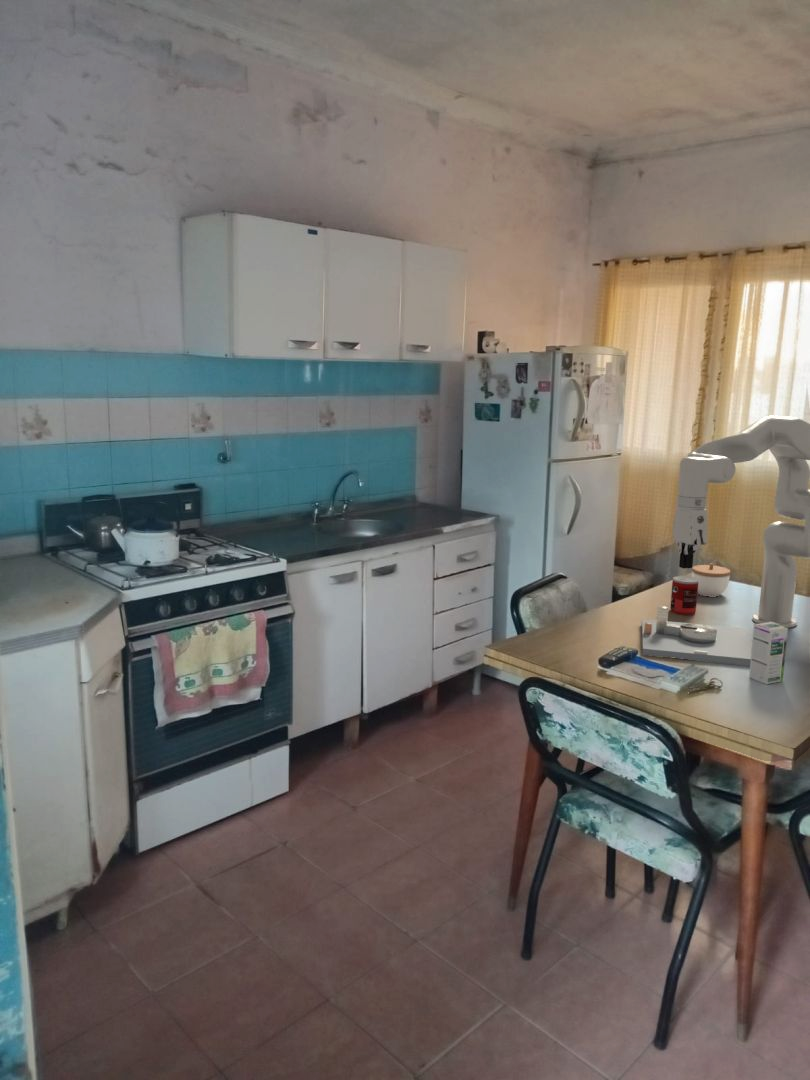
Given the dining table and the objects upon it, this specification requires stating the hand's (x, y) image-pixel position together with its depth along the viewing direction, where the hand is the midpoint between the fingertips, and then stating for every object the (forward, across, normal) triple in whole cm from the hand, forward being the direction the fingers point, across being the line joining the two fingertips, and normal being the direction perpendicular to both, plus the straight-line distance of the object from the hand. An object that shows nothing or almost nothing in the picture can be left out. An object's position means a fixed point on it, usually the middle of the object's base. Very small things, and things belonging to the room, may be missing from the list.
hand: (685, 567), depth 228 cm
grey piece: (+21, +2, -3) cm, 21 cm away
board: (+23, 0, -6) cm, 24 cm away
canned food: (+23, +30, -21) cm, 43 cm away
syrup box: (+23, -27, -7) cm, 37 cm away
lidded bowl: (+23, +46, -42) cm, 67 cm away
